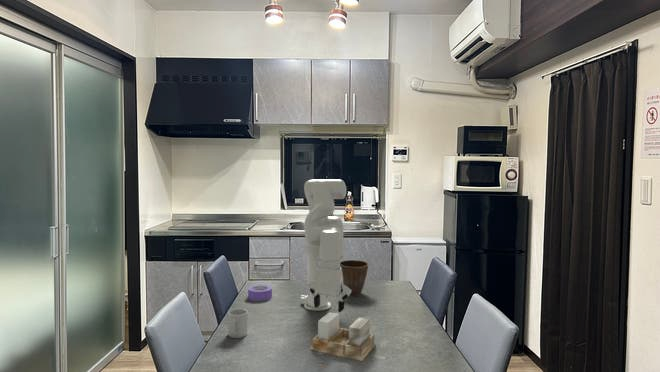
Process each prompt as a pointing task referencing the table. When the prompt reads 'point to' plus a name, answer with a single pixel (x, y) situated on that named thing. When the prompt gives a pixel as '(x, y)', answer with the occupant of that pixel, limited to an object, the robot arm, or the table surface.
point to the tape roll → (259, 292)
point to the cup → (238, 323)
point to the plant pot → (354, 275)
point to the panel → (328, 326)
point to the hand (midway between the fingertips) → (328, 308)
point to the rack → (348, 341)
